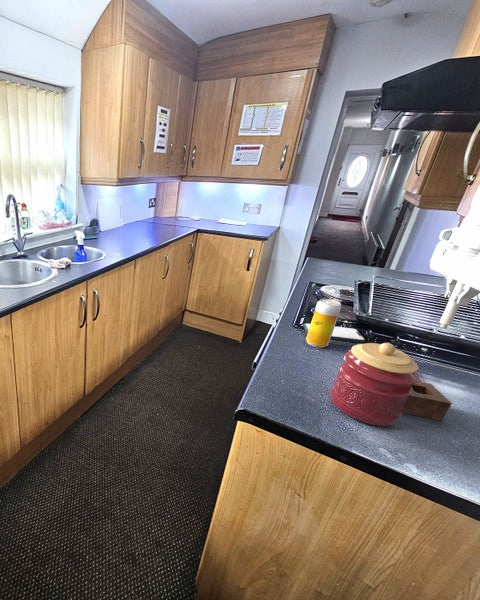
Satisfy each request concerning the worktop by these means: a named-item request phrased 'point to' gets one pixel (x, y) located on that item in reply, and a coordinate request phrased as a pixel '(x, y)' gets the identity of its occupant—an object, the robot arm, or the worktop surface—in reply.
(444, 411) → the pen stand
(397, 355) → the kitchen canister
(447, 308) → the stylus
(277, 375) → the worktop surface
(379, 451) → the worktop surface
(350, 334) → the phone case
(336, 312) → the pint of beer
